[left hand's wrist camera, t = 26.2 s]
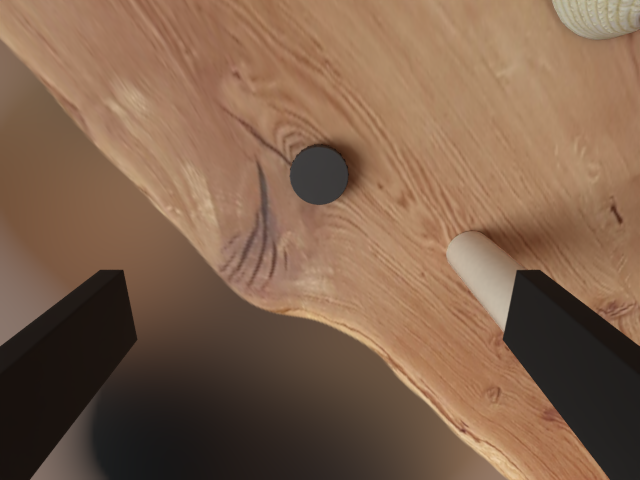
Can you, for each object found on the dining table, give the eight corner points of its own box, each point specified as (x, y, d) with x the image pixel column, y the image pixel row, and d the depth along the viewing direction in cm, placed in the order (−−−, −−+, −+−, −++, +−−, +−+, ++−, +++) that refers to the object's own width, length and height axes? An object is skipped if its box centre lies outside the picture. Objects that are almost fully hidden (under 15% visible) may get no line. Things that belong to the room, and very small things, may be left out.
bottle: (442, 270, 42) (512, 368, 27) (451, 229, 40) (532, 307, 25) (485, 273, 42) (580, 372, 27) (496, 232, 40) (604, 312, 25)
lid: (355, 155, 37) (357, 157, 36) (336, 208, 39) (336, 213, 38) (301, 135, 37) (300, 137, 35) (283, 190, 39) (281, 194, 37)
